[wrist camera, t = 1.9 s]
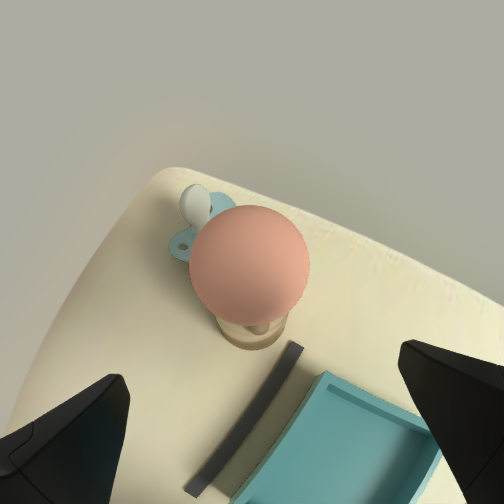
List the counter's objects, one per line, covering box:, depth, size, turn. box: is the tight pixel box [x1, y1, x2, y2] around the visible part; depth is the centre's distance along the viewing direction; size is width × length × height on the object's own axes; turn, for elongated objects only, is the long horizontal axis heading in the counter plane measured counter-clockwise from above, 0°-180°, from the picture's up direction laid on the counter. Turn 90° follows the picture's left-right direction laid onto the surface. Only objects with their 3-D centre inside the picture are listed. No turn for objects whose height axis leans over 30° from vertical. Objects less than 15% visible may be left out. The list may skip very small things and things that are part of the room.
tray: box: [229, 371, 443, 504], centre depth 14 cm, size 11×11×3 cm
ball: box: [189, 205, 310, 326], centre depth 15 cm, size 6×6×6 cm
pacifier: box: [168, 184, 237, 262], centre depth 23 cm, size 7×6×6 cm
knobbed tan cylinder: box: [215, 311, 289, 350], centre depth 19 cm, size 5×5×6 cm
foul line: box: [185, 341, 304, 498], centre depth 17 cm, size 14×1×1 cm, turn 147°
